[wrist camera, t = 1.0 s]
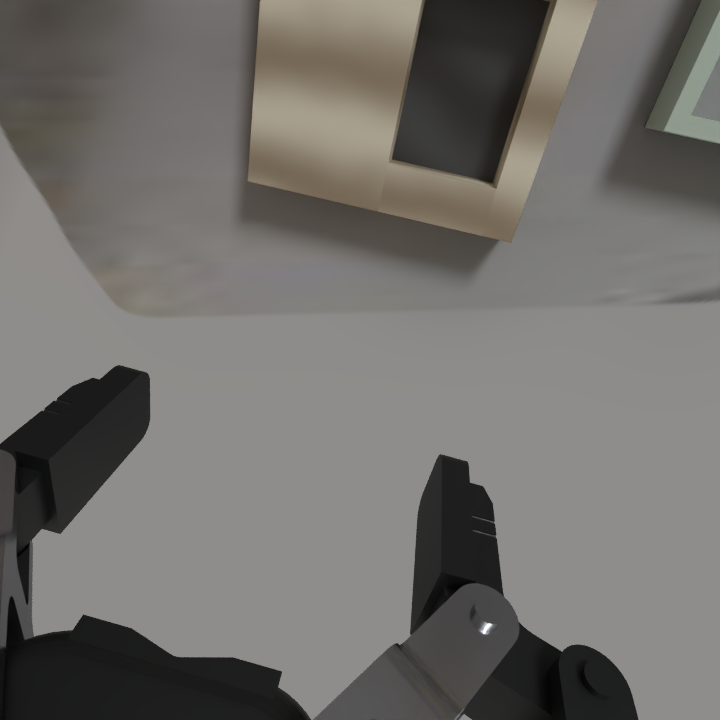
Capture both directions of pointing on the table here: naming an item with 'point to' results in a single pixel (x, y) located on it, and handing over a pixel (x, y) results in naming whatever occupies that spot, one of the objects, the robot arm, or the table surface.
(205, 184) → the table surface
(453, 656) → the robot arm
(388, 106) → the hole board
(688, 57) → the pale green shallow tray
